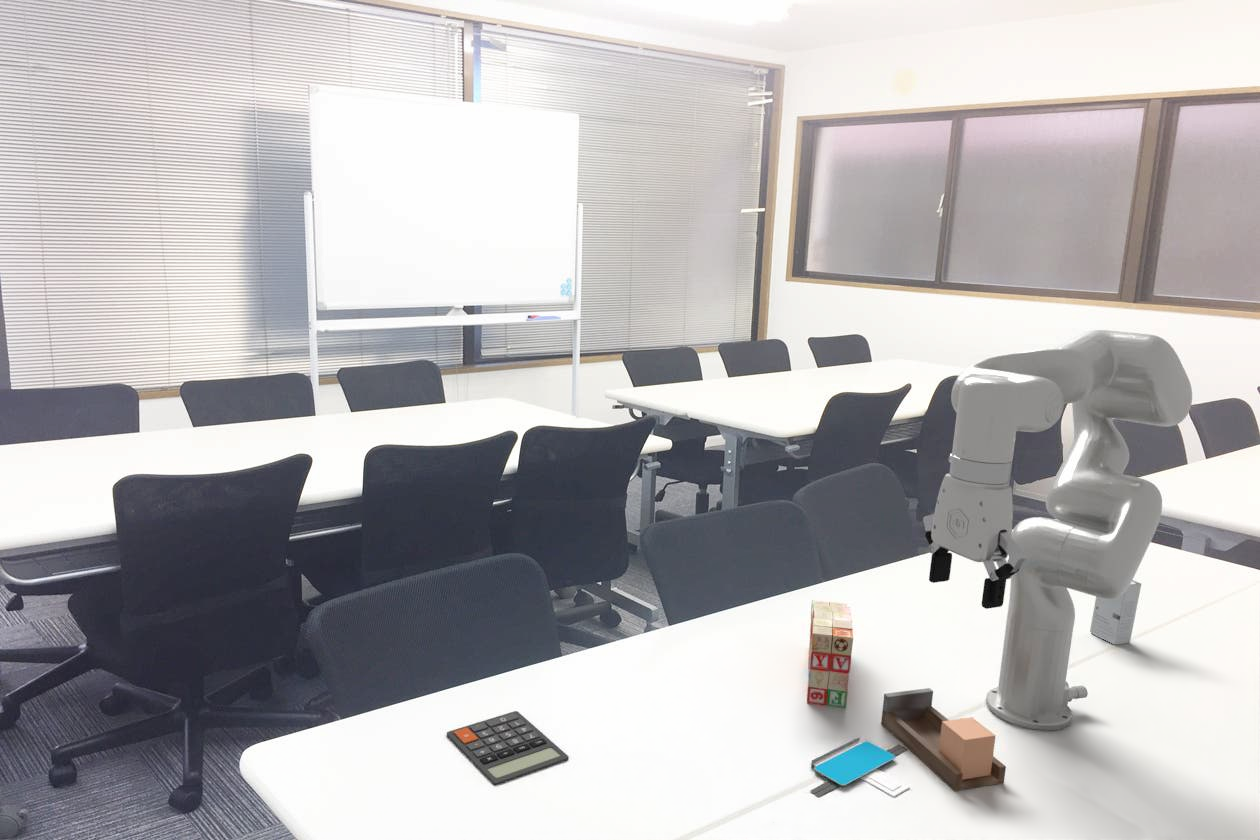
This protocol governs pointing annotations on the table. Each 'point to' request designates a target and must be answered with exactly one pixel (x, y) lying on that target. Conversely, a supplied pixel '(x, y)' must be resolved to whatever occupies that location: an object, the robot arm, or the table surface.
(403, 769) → the table surface
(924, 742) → the chute
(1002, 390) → the robot arm
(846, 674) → the stack of blocks
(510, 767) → the calculator
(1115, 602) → the skincare box
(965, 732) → the block
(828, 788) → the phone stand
